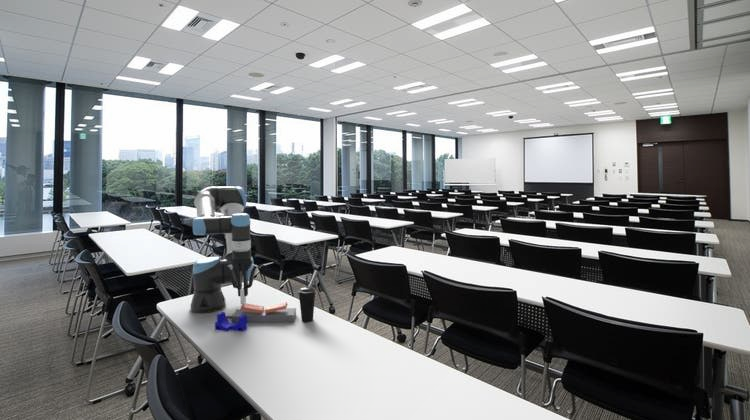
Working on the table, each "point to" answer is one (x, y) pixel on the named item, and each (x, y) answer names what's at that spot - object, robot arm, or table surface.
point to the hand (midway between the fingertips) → (243, 303)
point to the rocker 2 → (276, 307)
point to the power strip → (265, 316)
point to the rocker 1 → (252, 308)
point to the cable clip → (227, 325)
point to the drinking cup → (307, 302)
